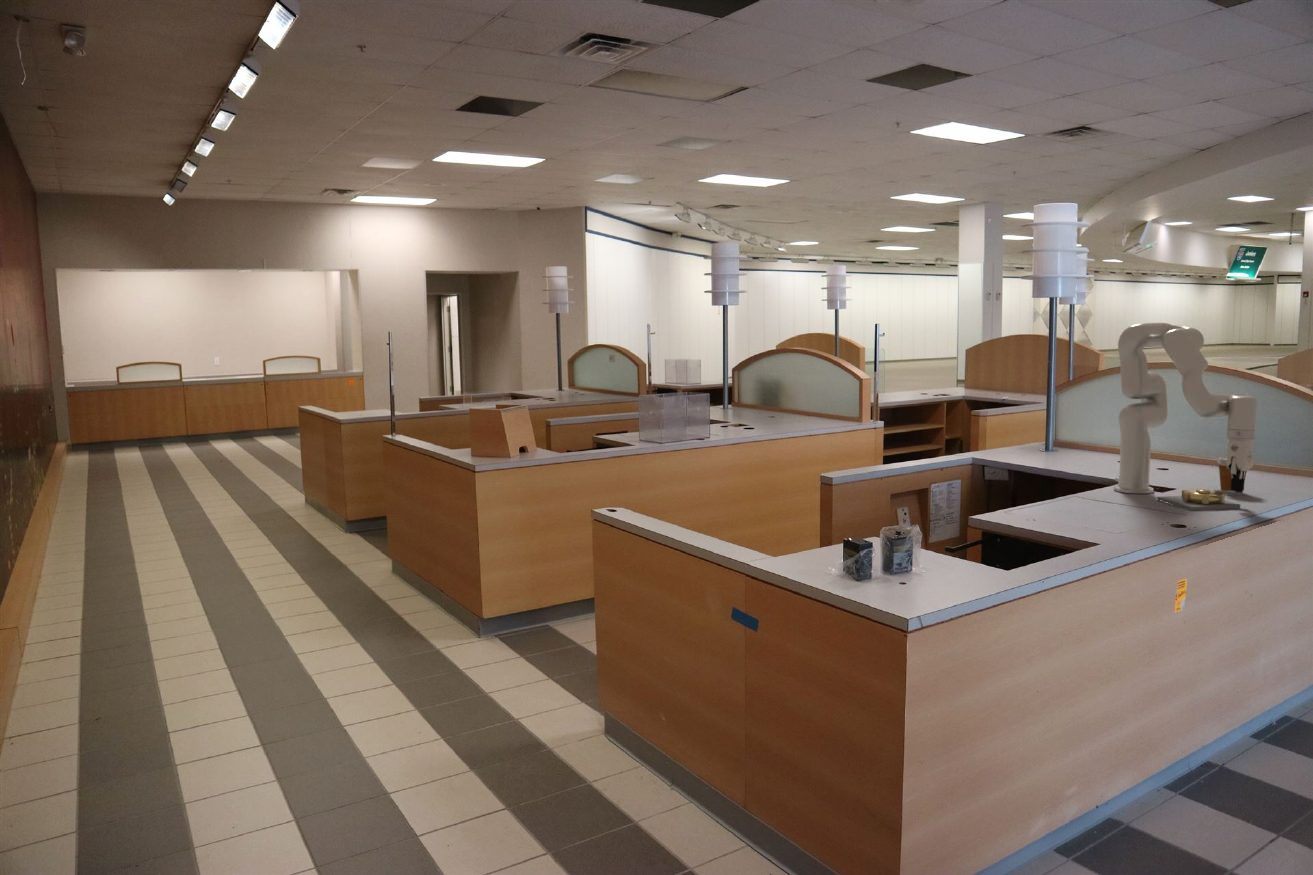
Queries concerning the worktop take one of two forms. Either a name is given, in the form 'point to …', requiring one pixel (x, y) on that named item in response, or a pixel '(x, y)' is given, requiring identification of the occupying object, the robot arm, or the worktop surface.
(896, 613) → the worktop surface
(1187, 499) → the gold domed lever dial
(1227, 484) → the disposable coffee cup
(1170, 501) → the base plate
